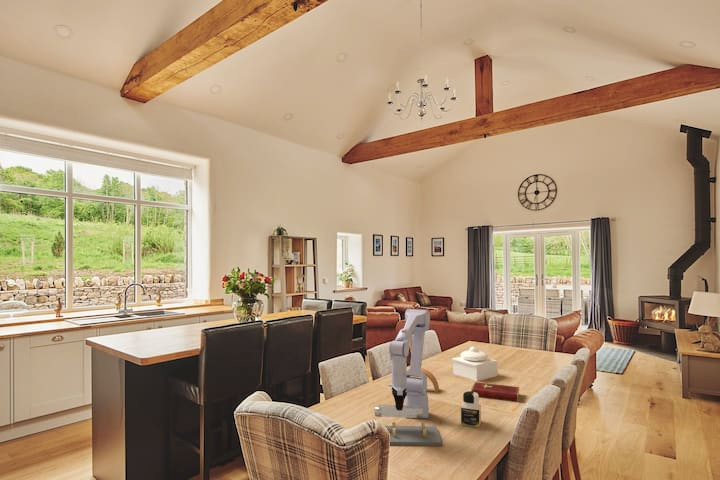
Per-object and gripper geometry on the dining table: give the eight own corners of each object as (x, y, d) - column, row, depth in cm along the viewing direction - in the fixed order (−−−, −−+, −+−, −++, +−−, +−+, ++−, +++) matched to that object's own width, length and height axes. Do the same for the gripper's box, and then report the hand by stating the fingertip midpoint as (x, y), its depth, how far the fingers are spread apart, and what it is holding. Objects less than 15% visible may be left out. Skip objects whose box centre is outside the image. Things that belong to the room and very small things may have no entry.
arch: (400, 385, 219) (400, 365, 220) (439, 389, 212) (438, 369, 212) (397, 388, 214) (397, 368, 214) (436, 393, 207) (436, 372, 207)
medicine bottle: (461, 425, 167) (460, 394, 168) (463, 418, 174) (463, 389, 174) (479, 427, 165) (479, 396, 165) (481, 420, 171) (480, 391, 172)
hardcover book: (518, 403, 193) (517, 393, 193) (471, 397, 202) (471, 388, 202) (519, 395, 204) (519, 386, 204) (475, 389, 213) (475, 381, 213)
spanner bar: (422, 415, 163) (422, 405, 163) (423, 418, 159) (423, 409, 160) (374, 413, 164) (374, 404, 164) (374, 416, 160) (374, 407, 161)
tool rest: (436, 429, 163) (436, 419, 163) (441, 445, 149) (441, 434, 149) (379, 428, 164) (379, 418, 164) (379, 444, 150) (379, 433, 150)
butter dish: (497, 376, 235) (497, 347, 236) (476, 381, 225) (475, 351, 226) (473, 369, 250) (472, 342, 250) (451, 374, 239) (451, 346, 240)
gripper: (388, 367, 170) (388, 401, 169) (388, 377, 155) (389, 415, 155) (405, 367, 169) (406, 401, 169) (408, 378, 155) (408, 415, 154)
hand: (399, 408), depth 162 cm, fingers closed on spanner bar, 3 cm apart
